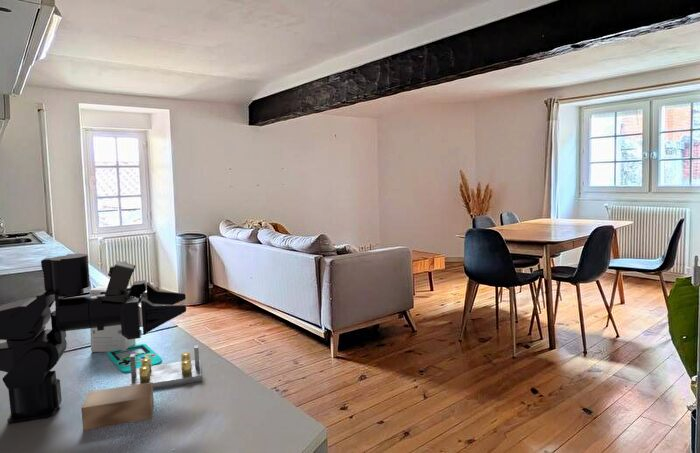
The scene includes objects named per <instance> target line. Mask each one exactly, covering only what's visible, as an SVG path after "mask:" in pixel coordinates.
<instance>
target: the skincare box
mask: <svg viewBox="0 0 700 453" xmlns="http://www.w3.org/2000/svg"><path fill="white" fill-rule="evenodd" d="M131 285H132V284H131ZM131 285H129V284H128V287H127V288H130V287H131ZM107 287H108V284H104V285H99V286H96V287H93V288H90V289H89V296H92V295H98V294H99V292H101V291H103V290H107ZM89 329H90V351H91V353H108V352H110V351H119V350H122V352H121V353H124V352H123V351H125V352H127V351H126V349H128V348H129V347H130V346H135V345H136V339H129V340H128V339H127V338H125V337H124V336H122V331H121V325H116V326H107V327H105V329H104V330H100V331H97V328H89Z"/></svg>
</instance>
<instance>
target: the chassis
mask: <svg viewBox="0 0 700 453" xmlns="http://www.w3.org/2000/svg"><path fill="white" fill-rule="evenodd" d="M193 351H194V359H192V358H191V352H183V353H181V354H180V356H181V357H180V358H181V361H177V362H168V363H162V364H161V363H160V364H158V365H154V366H151V359H150V358H145V359H142V360H141V367H140V368H136V356H135V355H136V353H135V354H131V353H130V354H131V355H129V356H130V364H131V372H130V379H129V384H128V386H130V385H137V384H144V383H150V382H152V383H153V390H154V389H155V390H156V389H162V388H168V387H173V386H181V385H187V383H188V384H193V382H194V383H198V382H199V383H200V382H203V380H202V379H203V378H202V370H201V369H202V368H201V360H200V356H199V355H200V350H199V344H196V345H194V344H193Z"/></svg>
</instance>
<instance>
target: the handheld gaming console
mask: <svg viewBox="0 0 700 453" xmlns="http://www.w3.org/2000/svg"><path fill="white" fill-rule="evenodd" d="M141 348H142V349H143V350H144V351H145V352H141V353H139V352H138V353H136V352H135V351H134V352H132V353H128V355H126V356H122V357H121V358H120V357H119V356H118V355H117V354H120V353H124V352H127V351H132V350H136V349H141ZM131 354H135V356H136V368H140V367H141V360H142V359H145V358H150V359H151V366H154V365H161V363H162V362H163V358H162V357H161V356H160V355H159V354H157V353H156V352H155V351H154V350H153V349H152V348H151V347H150V346H148V345H147V343H140V344H139V343H138V344H134V345H133V346H130V347H129V348H128V349H126V351H123V352H122V350H119V351H110V352H107V356H108V357H109V358H110V360H111V361H112V362H113V363H114V365H115V366H116V367H117V369H118V370H119V371H120V372H121V373H122V374H127V373H129V374H130V373H131V364H130V355H131Z"/></svg>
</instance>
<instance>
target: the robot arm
mask: <svg viewBox="0 0 700 453" xmlns="http://www.w3.org/2000/svg"><path fill="white" fill-rule="evenodd" d="M88 255H89V254H87V253H68V254H66V255H59V256H54V257H45V258H43V259H42V260H40V266H41V270H42V273H43V283H44V289H43V290H41V291H40V292H39V293H38V294H37V295H36V296H35V297H29V298H24V299H20V300H16V301H12V302H9V303H5V304H1V305H0V341H4V342H0V372H3V373H6V374H5V375H4V376H3V377H2V381H3V384H4V385H5V387H6V388H7V390H8V391H7V392H8V401H9V408H10V409H9V411H10V415H9V417H8V418H7V420H6V423H7V424H11V423H12V424H13V423H18V422H24V421H30V420H35V419H42V418H47V417H52V416H54V413H55V412H56V410H57V408H59V406H60V404H61V403H62V400H63V399H62V390H61V380H60V379H59V378H57V375H56V374H57V373H56V370H52V369H53V368H54V367H55V366H56V365H57V364H58V362H59V361H60V359H62V356H63V354H64V353H65V351H66V350H67V344H68V343H67V340H66V337H67V332H69V331H79V330H87V329H90V328H97V331H100V330H104V329H105V327H107V326H116V325H121V331H122V336H124V337H125V338H127V339H128V340H129V339H135V340H136V339H137V340H138V339H141V338H142V334H143V335H144V336H146V335H147V334H148V333H149V332H152V331H153V330H155V329H156V328H159V327H160V326H162V325H163V324H165V323H168V322H169V321H171V320H173V319H175V318H177V317H178V316H180V315H182V314H184V313H186V312H187V305H185V304H179V303H180V302H182V301H185V300H186V294H185V293H182V292H176V291H175V292H174V291H167V290H161V289H156V288H155V287H154V285H152V284H151V283H150V282H149V281H147V282H146V279H145V280H135V281H134V282H133V283H132V284H131V287H130V288H127V287H128V285H129V283H130V280H131V277H132V275H133V273H134V272H135V268H136V265H135V264H133V263H132V264H131V263H128V262H127V261H119V260H117V261H116V263H115V264H113V265H110V267H109V271H108V273H107V276H108V277H109V281H108V284H107V285H108V287H107V290H103V291H101V292H99V294H98V295H92V296H90V295H83V294H84V292H85V291H84V290H85V289H86V288H87V289H88V288H89V287H91V281H90V268H89V256H88ZM80 295H83V296H80ZM74 296H75V297H74ZM54 303H55V306H54V307H55V310H54V311H51V307H52V306H53V304H54ZM49 321H50V322H51V324H50V325H51V329H49V328H48V329H46V325H47V324H48V323H49ZM141 328H142V330H141Z"/></svg>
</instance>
